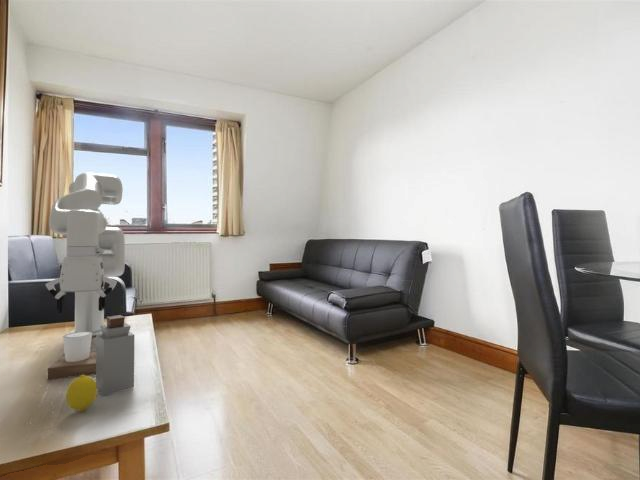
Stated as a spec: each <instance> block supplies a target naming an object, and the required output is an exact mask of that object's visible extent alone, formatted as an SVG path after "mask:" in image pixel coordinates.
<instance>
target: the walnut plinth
mask: <svg viewBox="0 0 640 480" xmlns="http://www.w3.org/2000/svg"><path fill="white" fill-rule="evenodd" d="M91 374H94V375H96V350H90V355H89V358H87V359H85V360H82V361H76V362H67V361H66V360H65V353H64V354H63V355H61V356H60V357H59V358H58V359H57V360H55V361H54V362H53V363H52V364H51V365H50V366H49V367H48V368H47V380H55V379H56V380H57V379H64V378H73V377H79V376H80V375H85V376H92V375H91Z"/></svg>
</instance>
